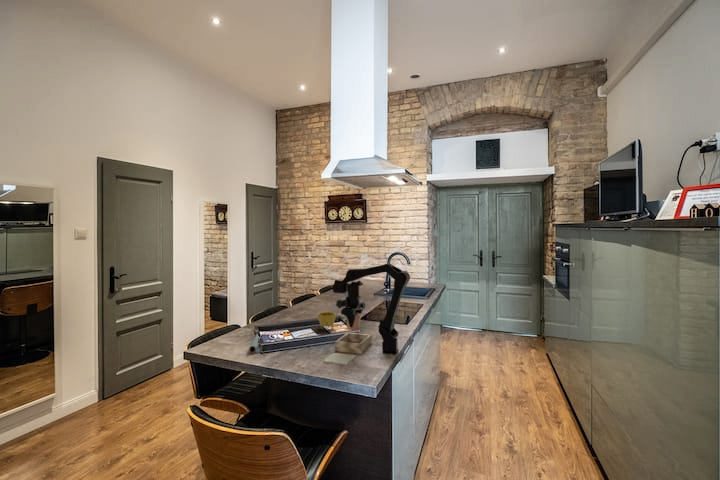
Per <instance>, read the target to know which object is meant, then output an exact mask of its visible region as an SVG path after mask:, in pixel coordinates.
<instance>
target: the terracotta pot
mask: <svg viewBox="0 0 720 480" xmlns="http://www.w3.org/2000/svg"><path fill="white" fill-rule="evenodd" d="M355 314H356V317H355V321H354V324H353V327H350V325H349V322H348V319H347V318H346V322H347V323H346V327H347V330H350V331H357V330H361V316H362V313H358V312H355Z"/></svg>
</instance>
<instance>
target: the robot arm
mask: <svg viewBox="0 0 720 480" xmlns="http://www.w3.org/2000/svg"><path fill="white" fill-rule="evenodd" d="M383 273H386V274H387V275H389V276H390V277H391V278H392V279H394V282H393V288H394V289H393V292H392V294H391V295H392V296H391V299H390V302H389V304H388V305H389V306H388V308H387V311H386V313H385V316H383V317H382V318H381V319H379V324H378V326H377V328H378V333H379V335H380V337H381V338H382V342H381V350H382V354H389V355H391V354H392V355H396V354H397V353H398V351H399V348H398V345H399V344H398V336H399V332H398V330H396V328H395V326H396V325H395V324H396V323H395V321H396V320H395V319H396V314H397V311H398V308H399V305H400V303H401V299H402V297H403V292H404V290H405V288H406V287H407V285H408V284H409V282H410V280H411V275H410V273H409V272H408V271H406V270H402V269H400V268H399V267H397V266H396V265H395V266H394V265H393V264H392V263H384V264H381V265H376V266H372V267H367V268H352V269H348V270H347V272H346V274H345V277H343V280H342V279H335V280H334V283H333V284H332V292H333V294H342V295H344V294H347V296H346V297H345V299H343V300H342V299H338V300H336V303H335V304H336V305H335V306H336V307H337V309H341V308H342V309H341V310H340V315H343V316H345V317H346V320H347V319H348V322H349V325H350V327H353V324H354V321H355V317H356V314H355V312H358V313H361V314H362V313H363V311H364V309H365V308H366V303H365V302H362V301H360V298H361V295H360V287H361V286H363V285H364V283H363V282H362V281H361V280H360V279H362V278H365V277H367V276H373V275H377V274H378V275H379V274H383Z"/></svg>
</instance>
